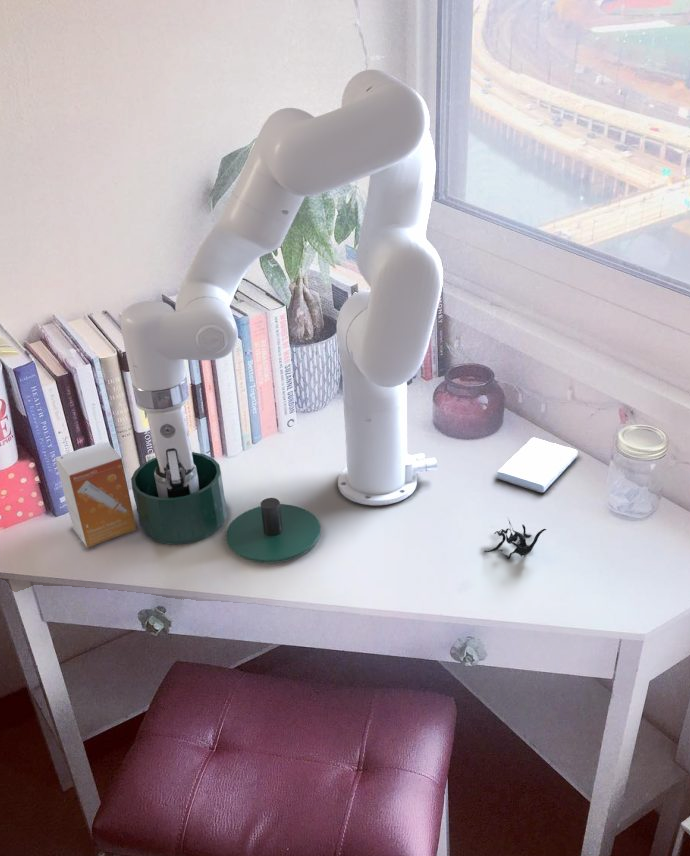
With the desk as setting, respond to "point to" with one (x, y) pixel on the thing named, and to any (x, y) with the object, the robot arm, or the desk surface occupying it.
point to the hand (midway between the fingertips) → (179, 495)
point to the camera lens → (190, 477)
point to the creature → (522, 547)
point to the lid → (273, 532)
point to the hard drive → (537, 465)
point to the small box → (96, 493)
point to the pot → (180, 504)
